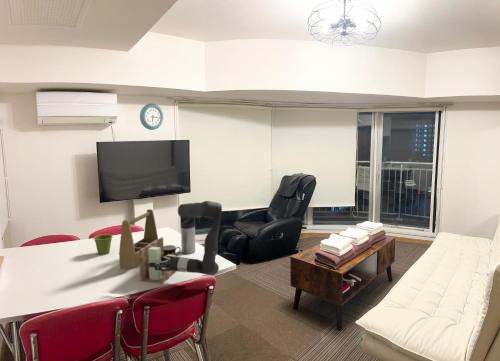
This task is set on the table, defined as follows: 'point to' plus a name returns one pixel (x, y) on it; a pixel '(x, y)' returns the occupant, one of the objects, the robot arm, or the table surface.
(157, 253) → the sage green pillar
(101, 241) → the plant pot
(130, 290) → the table surface
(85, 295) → the table surface
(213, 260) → the robot arm
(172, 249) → the coffee mug
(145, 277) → the rack
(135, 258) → the caddy
